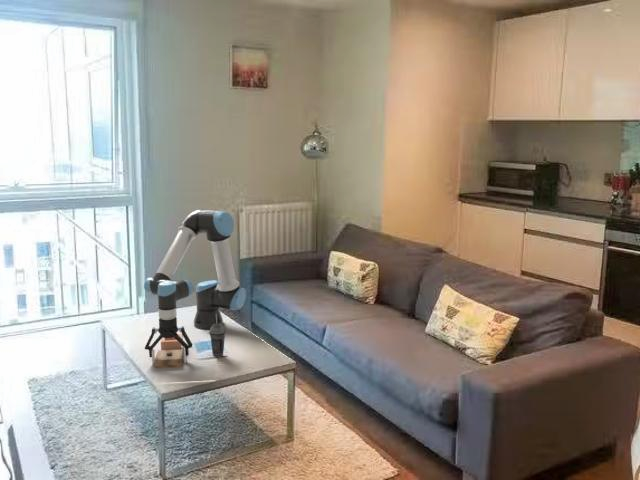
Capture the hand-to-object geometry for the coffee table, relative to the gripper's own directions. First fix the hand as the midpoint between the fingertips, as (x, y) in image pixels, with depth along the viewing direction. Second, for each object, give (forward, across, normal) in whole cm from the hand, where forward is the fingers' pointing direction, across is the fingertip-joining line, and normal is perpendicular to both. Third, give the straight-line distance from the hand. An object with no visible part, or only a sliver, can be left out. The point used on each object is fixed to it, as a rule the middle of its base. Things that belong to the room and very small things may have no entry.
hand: (169, 363), depth 260 cm
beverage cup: (0, -21, -6) cm, 22 cm away
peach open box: (0, 0, -13) cm, 13 cm away
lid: (0, 0, 0) cm, 1 cm away
